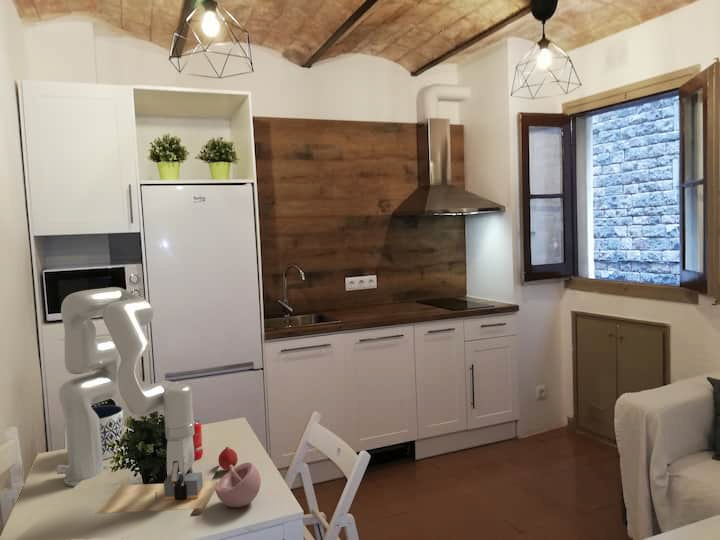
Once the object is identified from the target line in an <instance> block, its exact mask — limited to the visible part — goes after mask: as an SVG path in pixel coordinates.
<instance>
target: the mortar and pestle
mask: <svg viewBox="0 0 720 540" xmlns="http://www.w3.org/2000/svg"><path fill="white" fill-rule="evenodd" d="M229 468H230V471H227V473H226V474H224V475H223V476H222V477H221V478H220V480H219V481H217V485H216V487H215V491H214V492H215V494H216V495H217V498H218V499H219V501H220V502H222V504H224V505H226V506H227V507H231V508H243V507H245V506H248V504H250V503H252V502H253V501H254V500H255V498H257V496H258V493H259V491H260V488H261V474H260V472H259V470H258V469H257V467H256V466H255V465H254V464H253V463H252V462H250V461H249V462H244V463H241V464H239V465H237V466H234V468H233V465H229Z"/></svg>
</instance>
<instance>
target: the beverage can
mask: <svg viewBox="0 0 720 540" xmlns="http://www.w3.org/2000/svg"><path fill="white" fill-rule="evenodd" d="M202 432H203V431H202V423H201V420H199V419H194V435H193V444H194V461H197V460H200V459H202V457H203V454H204V451H203V437H202V436H203V435H202Z"/></svg>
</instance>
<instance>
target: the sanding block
mask: <svg viewBox="0 0 720 540" xmlns="http://www.w3.org/2000/svg"><path fill="white" fill-rule="evenodd" d="M178 478H179V479H181V480H182V476H178ZM203 482H204V481H203V473H202V472H193V473H186V474H185V484H186V489H187V498H186V499H190V498H198V497H199V496H200V494H201V492H202V491H203ZM163 484H164V492H165V500H171V499H175V495H174V486H173V482H172V475H171V476H168V475H167V477H166V478H165V480H164V481H163Z"/></svg>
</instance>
